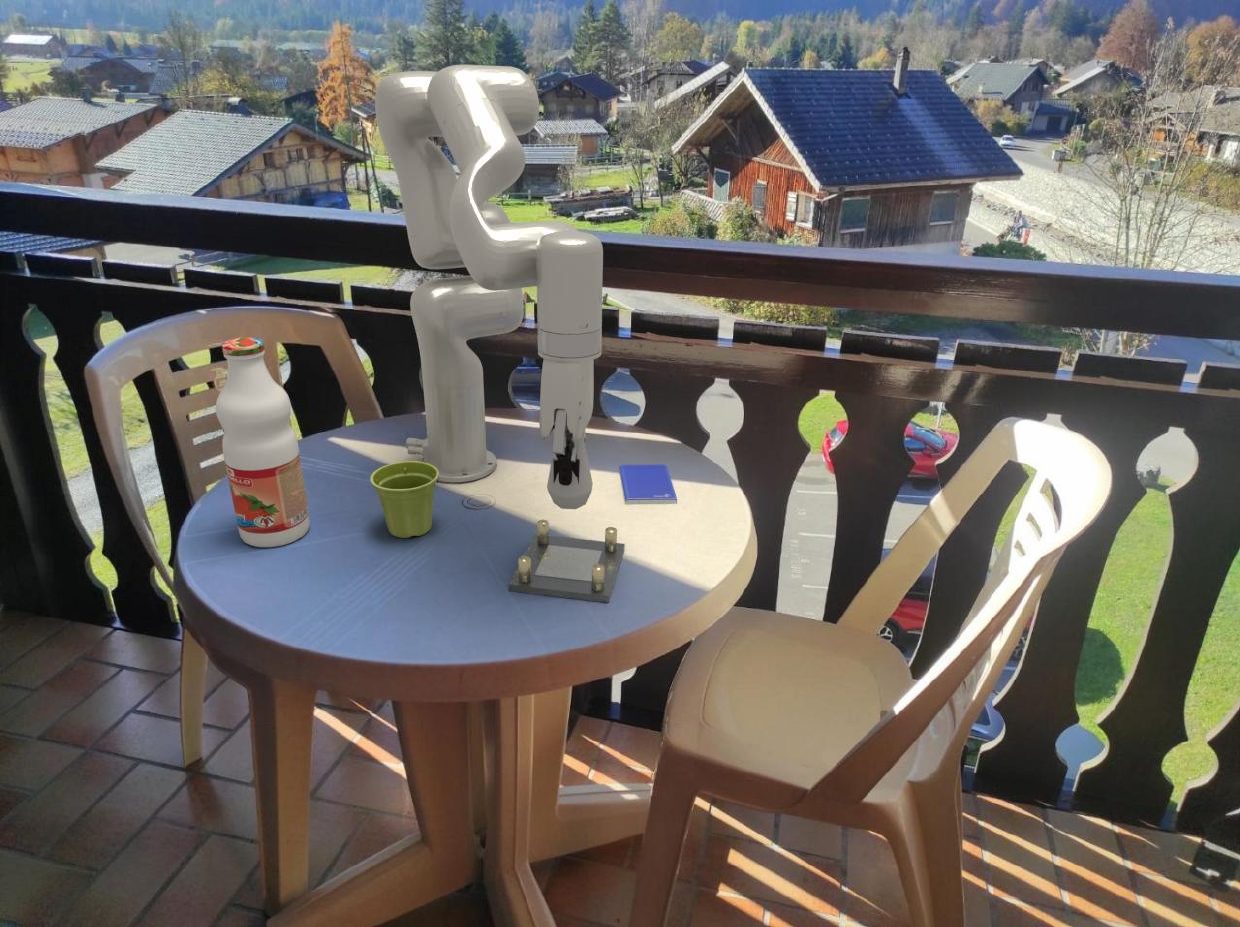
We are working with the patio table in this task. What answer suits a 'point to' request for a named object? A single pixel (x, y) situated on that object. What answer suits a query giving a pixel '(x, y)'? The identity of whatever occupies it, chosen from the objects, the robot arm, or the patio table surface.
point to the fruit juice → (260, 450)
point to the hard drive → (647, 484)
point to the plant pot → (406, 496)
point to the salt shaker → (574, 492)
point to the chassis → (568, 566)
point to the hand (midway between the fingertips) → (569, 480)
